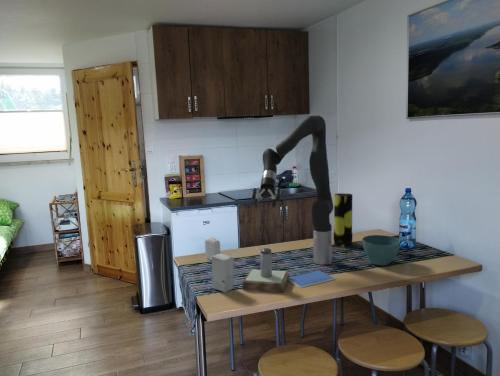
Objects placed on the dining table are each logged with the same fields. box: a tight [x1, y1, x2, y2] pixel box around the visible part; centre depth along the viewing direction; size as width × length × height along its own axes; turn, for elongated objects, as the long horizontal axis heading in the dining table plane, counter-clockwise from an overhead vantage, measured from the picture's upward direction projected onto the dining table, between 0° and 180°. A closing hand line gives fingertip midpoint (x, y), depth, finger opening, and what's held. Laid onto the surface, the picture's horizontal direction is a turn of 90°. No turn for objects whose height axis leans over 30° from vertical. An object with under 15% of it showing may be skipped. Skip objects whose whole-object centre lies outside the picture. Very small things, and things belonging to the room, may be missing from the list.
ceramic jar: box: [259, 247, 273, 278], centre depth 183 cm, size 5×5×12 cm
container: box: [333, 192, 353, 248], centre depth 239 cm, size 11×11×30 cm
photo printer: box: [204, 236, 221, 262], centre depth 220 cm, size 10×4×12 cm, turn 39°
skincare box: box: [211, 253, 234, 293], centre depth 180 cm, size 8×6×15 cm
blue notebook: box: [288, 270, 336, 289], centre depth 189 cm, size 19×13×1 cm, turn 117°
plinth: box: [242, 268, 290, 293], centre depth 184 cm, size 18×16×4 cm
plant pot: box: [361, 234, 401, 266], centre depth 207 cm, size 18×18×12 cm
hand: (264, 206), depth 205 cm, fingers open, 8 cm apart
